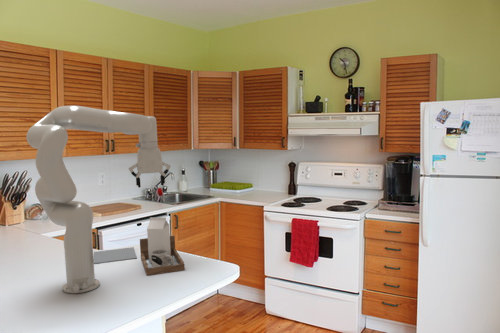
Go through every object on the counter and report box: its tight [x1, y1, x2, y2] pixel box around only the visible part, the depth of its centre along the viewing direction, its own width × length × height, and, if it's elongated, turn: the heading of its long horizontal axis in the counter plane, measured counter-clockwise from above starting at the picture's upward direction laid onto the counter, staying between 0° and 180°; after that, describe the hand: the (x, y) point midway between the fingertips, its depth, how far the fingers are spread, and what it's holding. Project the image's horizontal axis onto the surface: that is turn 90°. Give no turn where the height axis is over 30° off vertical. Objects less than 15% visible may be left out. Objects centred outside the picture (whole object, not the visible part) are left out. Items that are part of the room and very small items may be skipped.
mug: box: [151, 250, 174, 268], centre depth 177 cm, size 10×7×7 cm
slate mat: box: [93, 246, 138, 265], centre depth 197 cm, size 18×18×1 cm
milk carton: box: [146, 216, 171, 264], centre depth 186 cm, size 7×7×19 cm
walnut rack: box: [139, 234, 186, 276], centre depth 182 cm, size 22×15×9 cm, turn 19°
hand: (150, 186), depth 185 cm, fingers open, 9 cm apart
